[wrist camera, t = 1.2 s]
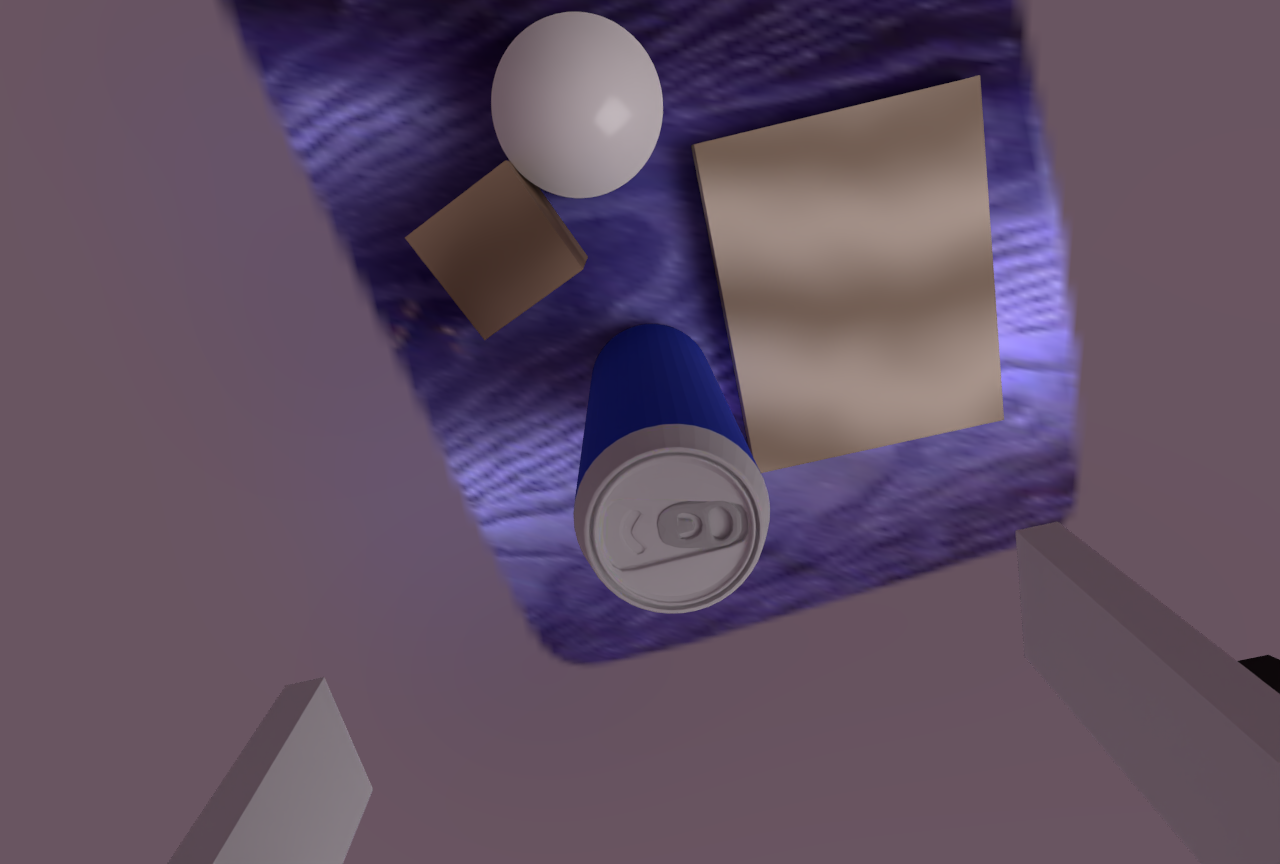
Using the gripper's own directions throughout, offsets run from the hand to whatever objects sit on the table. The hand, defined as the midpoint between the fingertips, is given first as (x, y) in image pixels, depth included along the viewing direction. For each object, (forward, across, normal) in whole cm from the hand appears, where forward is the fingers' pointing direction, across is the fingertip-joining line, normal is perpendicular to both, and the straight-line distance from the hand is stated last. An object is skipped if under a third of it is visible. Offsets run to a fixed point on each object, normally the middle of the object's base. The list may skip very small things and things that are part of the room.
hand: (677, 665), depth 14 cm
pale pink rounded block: (+20, 0, +11) cm, 23 cm away
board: (+20, +10, +2) cm, 22 cm away
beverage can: (+20, 0, 0) cm, 20 cm away
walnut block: (+20, -4, +7) cm, 22 cm away
